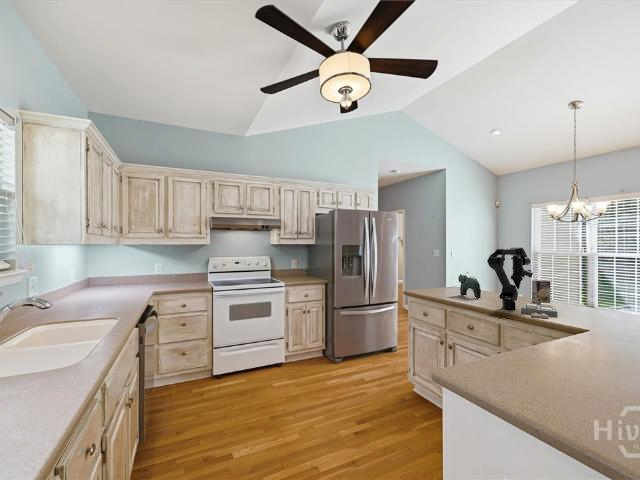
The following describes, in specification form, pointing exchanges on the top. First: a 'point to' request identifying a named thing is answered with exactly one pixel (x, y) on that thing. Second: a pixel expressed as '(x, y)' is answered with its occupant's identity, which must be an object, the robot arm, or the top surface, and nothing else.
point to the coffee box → (540, 291)
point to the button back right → (546, 305)
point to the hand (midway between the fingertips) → (518, 288)
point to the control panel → (538, 310)
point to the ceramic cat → (469, 285)
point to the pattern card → (539, 315)
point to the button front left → (532, 306)
